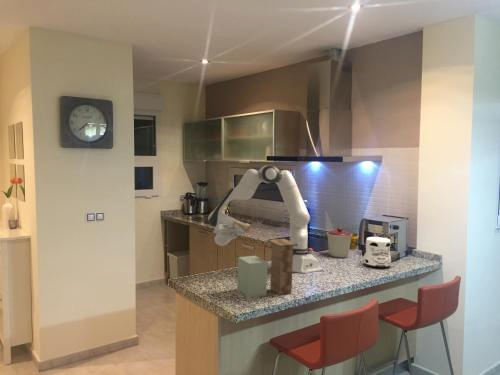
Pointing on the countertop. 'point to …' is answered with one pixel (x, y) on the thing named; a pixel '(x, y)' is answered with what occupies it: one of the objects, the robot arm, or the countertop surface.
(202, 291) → the countertop surface
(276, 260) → the walnut stand
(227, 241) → the robot arm
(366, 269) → the countertop surface
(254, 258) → the sage box
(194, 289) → the countertop surface
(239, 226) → the beech bar
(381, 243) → the white piece
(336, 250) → the canister
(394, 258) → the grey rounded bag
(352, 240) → the condiment
